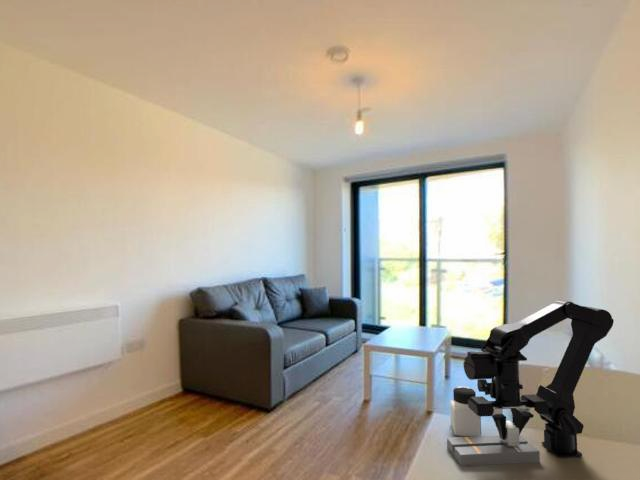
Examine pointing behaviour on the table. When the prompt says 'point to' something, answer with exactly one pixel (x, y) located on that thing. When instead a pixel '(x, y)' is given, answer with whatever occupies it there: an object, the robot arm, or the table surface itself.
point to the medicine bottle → (464, 413)
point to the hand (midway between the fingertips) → (508, 438)
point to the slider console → (490, 451)
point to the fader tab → (511, 435)
